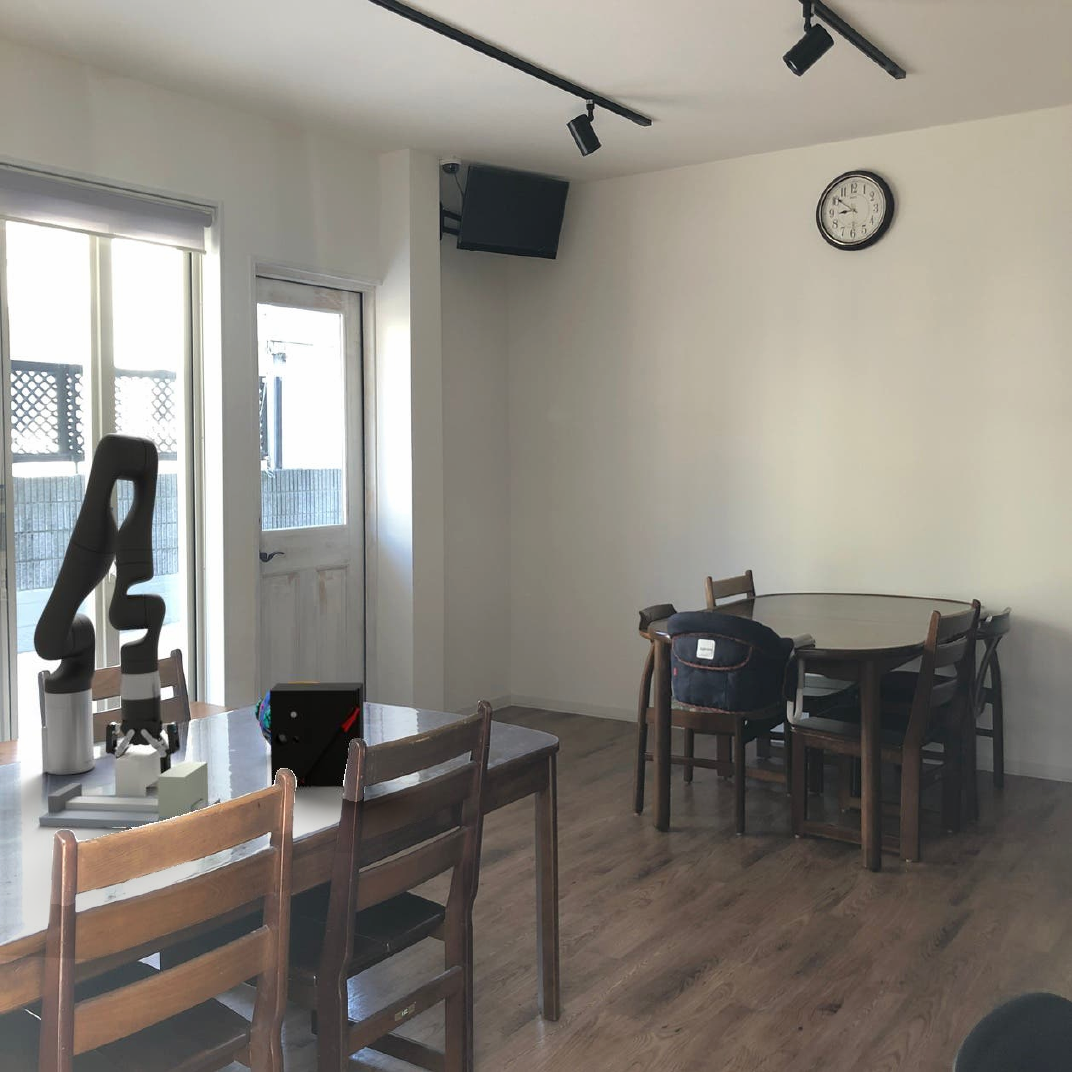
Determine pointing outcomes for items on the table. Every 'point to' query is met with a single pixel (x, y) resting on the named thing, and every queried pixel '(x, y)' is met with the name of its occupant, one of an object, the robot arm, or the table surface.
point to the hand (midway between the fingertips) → (144, 774)
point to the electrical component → (314, 730)
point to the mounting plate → (132, 801)
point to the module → (137, 771)
